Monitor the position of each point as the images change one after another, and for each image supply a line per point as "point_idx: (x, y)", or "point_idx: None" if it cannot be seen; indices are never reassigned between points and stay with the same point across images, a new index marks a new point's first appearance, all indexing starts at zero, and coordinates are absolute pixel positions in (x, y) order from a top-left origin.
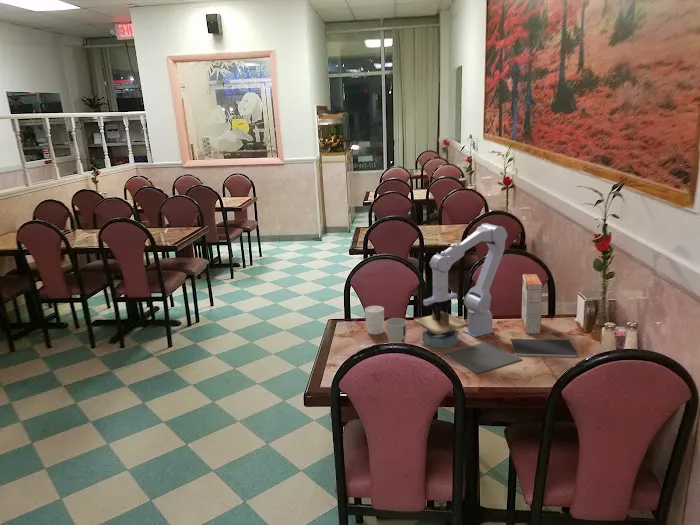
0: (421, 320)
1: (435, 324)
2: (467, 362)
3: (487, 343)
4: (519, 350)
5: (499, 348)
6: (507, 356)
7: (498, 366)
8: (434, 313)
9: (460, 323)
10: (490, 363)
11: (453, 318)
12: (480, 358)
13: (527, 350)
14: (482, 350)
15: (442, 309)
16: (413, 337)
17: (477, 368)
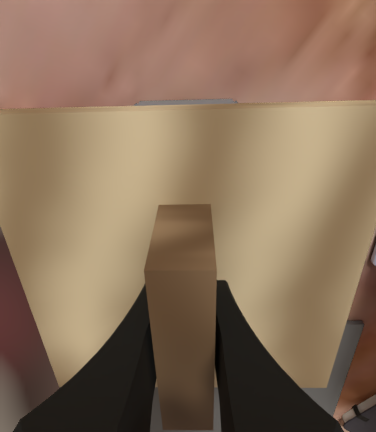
0: (37, 182)
1: (116, 306)
2: (155, 398)
3: (344, 336)
4: (368, 423)
5: (338, 379)
6: None
7: None
8: (123, 326)
9: (286, 366)
10: (218, 424)
11: (324, 286)
12: (215, 397)
13: None
14: None
15: (221, 376)
16: (55, 69)
17: (159, 427)
